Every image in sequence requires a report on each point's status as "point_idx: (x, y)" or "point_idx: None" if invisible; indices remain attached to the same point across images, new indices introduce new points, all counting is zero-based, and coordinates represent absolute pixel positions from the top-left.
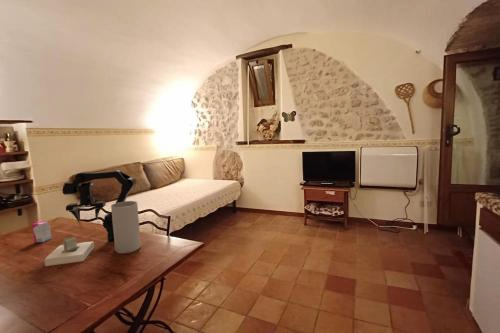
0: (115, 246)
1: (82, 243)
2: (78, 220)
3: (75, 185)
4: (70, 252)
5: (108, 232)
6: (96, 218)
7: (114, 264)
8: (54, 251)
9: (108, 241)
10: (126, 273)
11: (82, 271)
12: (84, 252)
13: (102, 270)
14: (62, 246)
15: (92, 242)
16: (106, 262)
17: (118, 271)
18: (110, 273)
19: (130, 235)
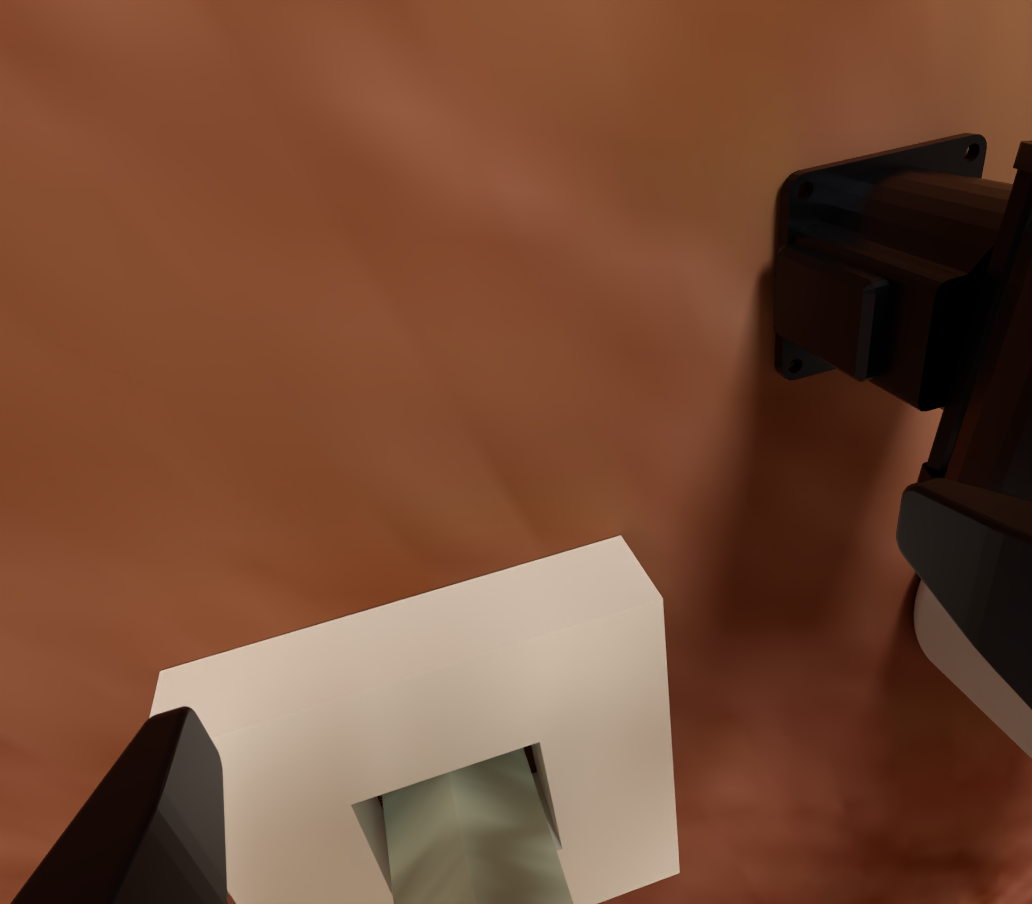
0: (973, 701)
1: (521, 673)
2: (221, 805)
3: None
4: None
5: (901, 397)
6: (952, 582)
7: (916, 796)
8: (261, 898)
9: (790, 379)
10: (991, 856)
11: (712, 897)
12: (674, 832)
13: (847, 862)
14: (240, 784)
15: (664, 630)
16: (854, 785)
17: (947, 850)
18: (902, 874)
19: None
